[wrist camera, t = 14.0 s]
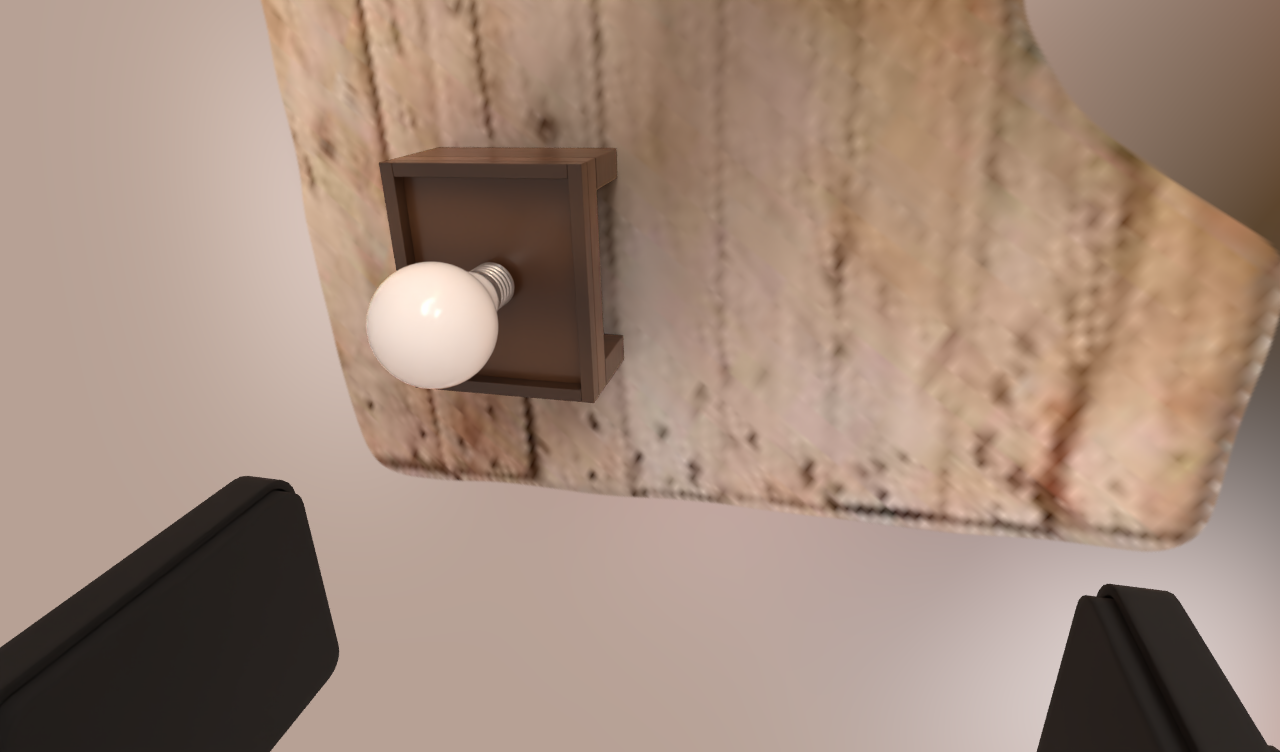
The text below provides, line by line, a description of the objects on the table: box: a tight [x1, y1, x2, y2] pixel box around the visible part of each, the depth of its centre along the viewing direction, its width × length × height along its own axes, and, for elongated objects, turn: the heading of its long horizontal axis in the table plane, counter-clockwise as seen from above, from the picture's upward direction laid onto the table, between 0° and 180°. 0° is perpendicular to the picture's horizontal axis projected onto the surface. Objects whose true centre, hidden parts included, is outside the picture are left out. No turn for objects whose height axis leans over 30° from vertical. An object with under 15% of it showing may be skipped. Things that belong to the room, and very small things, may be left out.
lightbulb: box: [366, 261, 514, 389], centre depth 39 cm, size 6×6×11 cm
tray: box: [379, 147, 624, 403], centre depth 46 cm, size 14×12×7 cm
